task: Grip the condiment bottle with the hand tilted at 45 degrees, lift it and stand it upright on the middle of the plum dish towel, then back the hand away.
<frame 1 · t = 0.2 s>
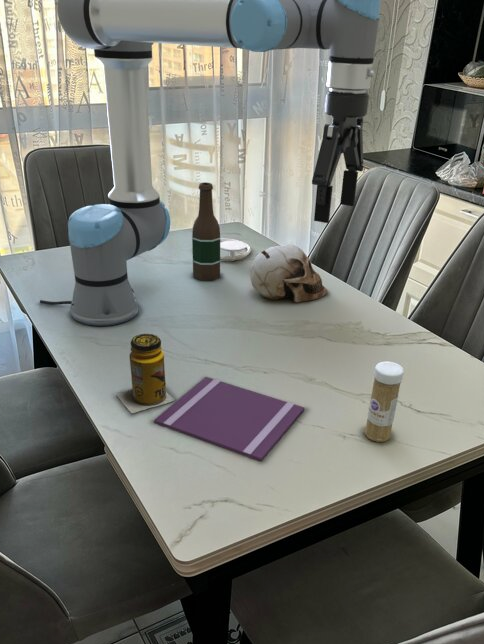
hand: (334, 213, 117), 28 cm above the table, tool pointing down, fingers open, 13 cm apart
coin bank: (289, 294, 153), on the table
towel: (230, 416, 107), on the table
condiment: (145, 399, 111), on the table
white rounded slab: (224, 253, 177), on the table
beer bottle: (206, 276, 162), on the table
sprinkles bottle: (377, 435, 104), on the table
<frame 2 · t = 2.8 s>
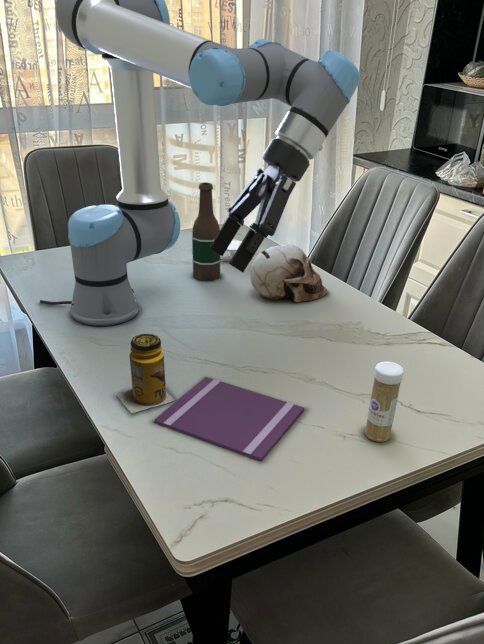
hand: (225, 260, 104), 24 cm above the table, tool tilted 35°, fingers open, 13 cm apart
nothing on the table moved.
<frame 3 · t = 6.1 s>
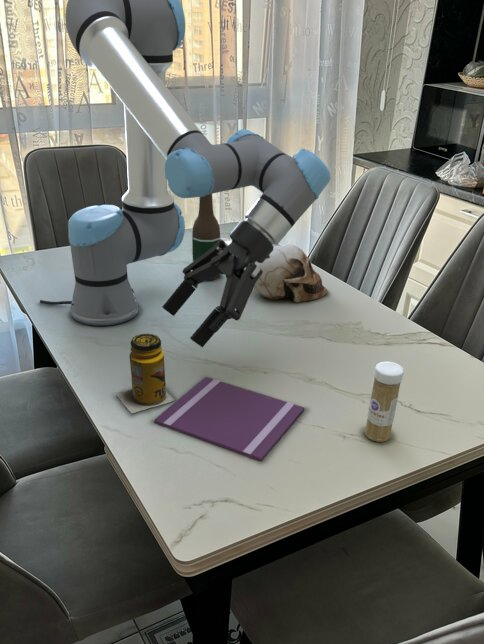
hand: (181, 326, 107), 13 cm above the table, tool tilted 45°, fingers open, 13 cm apart
nothing on the table moved.
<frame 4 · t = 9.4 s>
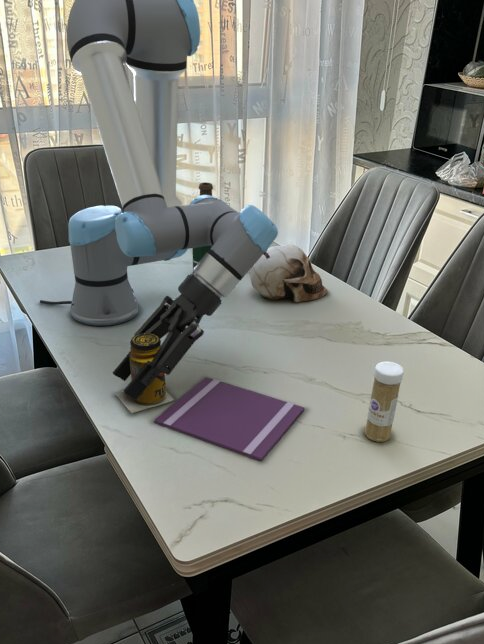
hand: (124, 385, 107), 4 cm above the table, tool tilted 45°, fingers closed on condiment, 6 cm apart
condiment: (145, 398, 111), on the table, touching gripper
everything else where it was.
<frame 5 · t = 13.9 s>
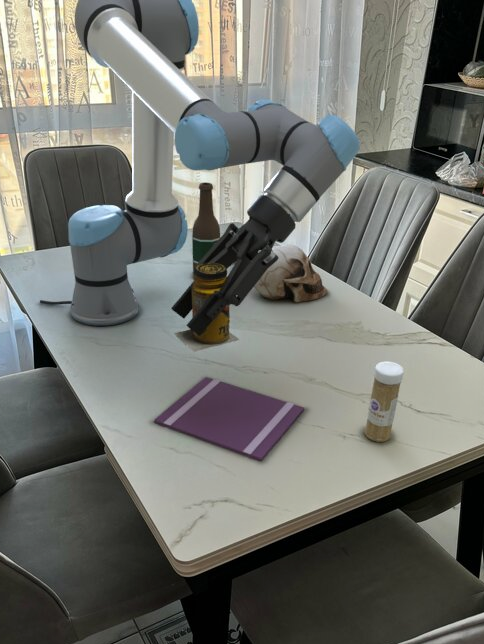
hand: (185, 321, 96), 18 cm above the table, tool tilted 45°, fingers closed on condiment, 6 cm apart
condiment: (206, 338, 100), point 15 cm above the table, touching gripper
everything else where it was.
when the fingers open (4 cm above the table, at t = 18.5 s): condiment stays where it is, resting on towel.
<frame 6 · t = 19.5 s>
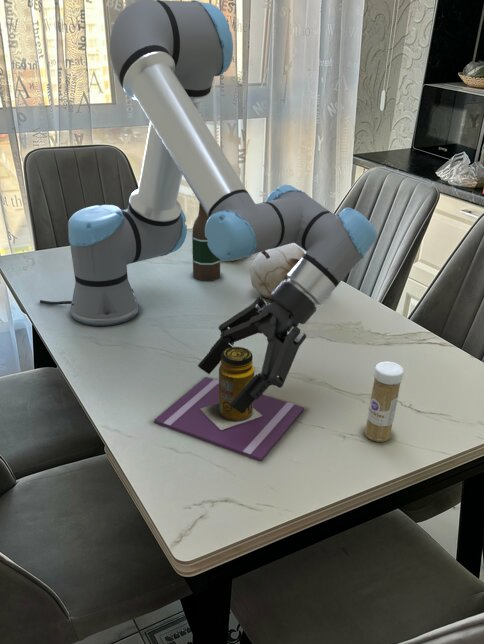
hand: (218, 388, 102), 6 cm above the table, tool tilted 45°, fingers open, 13 cm apart
condiment: (231, 414, 107), resting on towel
everything else where it was.
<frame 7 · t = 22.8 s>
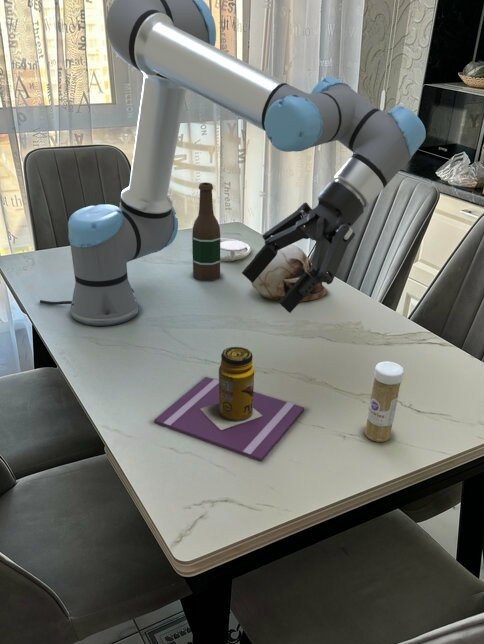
hand: (264, 292, 102), 20 cm above the table, tool tilted 45°, fingers open, 13 cm apart
nothing on the table moved.
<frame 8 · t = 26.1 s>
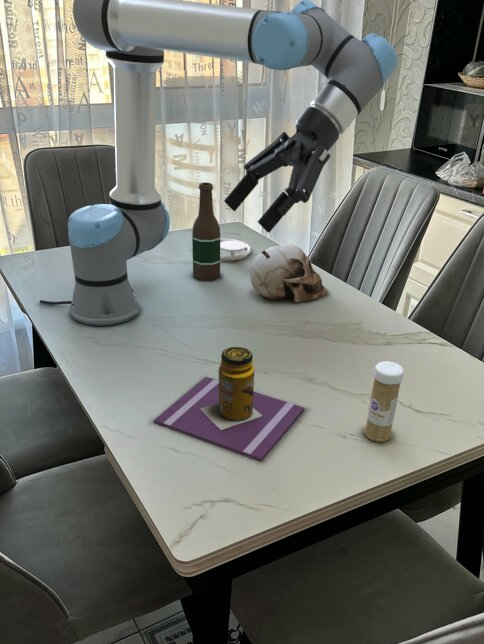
hand: (245, 216, 107), 30 cm above the table, tool tilted 45°, fingers open, 13 cm apart
nothing on the table moved.
at the end: condiment inside the target area on the towel (0.0 cm from its centre), point 0.4 cm above the towel's base; condiment tilted 0°; the gripper is holding nothing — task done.
